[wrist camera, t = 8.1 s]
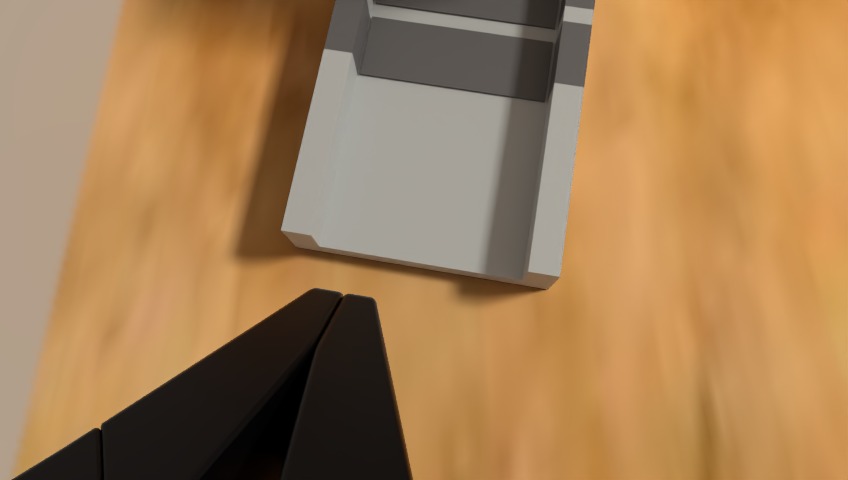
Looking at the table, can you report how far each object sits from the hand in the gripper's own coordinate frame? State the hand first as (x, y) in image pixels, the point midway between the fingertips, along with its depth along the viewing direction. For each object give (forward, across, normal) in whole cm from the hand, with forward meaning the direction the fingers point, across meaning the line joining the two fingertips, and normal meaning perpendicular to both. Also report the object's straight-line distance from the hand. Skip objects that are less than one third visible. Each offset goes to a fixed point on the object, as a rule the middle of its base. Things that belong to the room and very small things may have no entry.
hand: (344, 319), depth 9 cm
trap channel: (+18, 0, +1) cm, 18 cm away
